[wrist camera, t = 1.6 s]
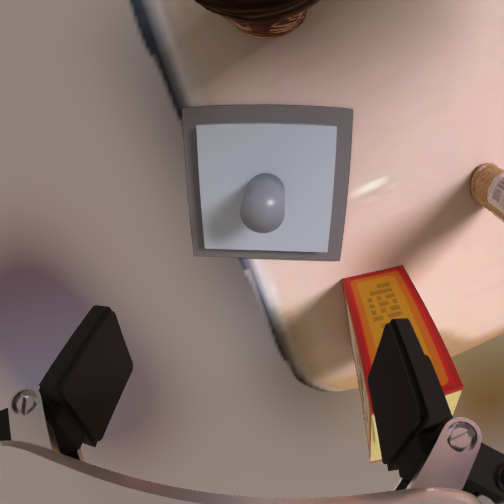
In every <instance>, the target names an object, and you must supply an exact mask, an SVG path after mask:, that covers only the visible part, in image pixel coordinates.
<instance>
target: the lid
mask: <svg viewBox="0 0 504 504" xmlns="http://www.w3.org/2000/svg"><path fill="white" fill-rule="evenodd" d="M196 132H197V151H198V168H199V183H200V197H201V210H202V222H203V234H204V245H205V249H234V250H266V251H298V252H328V243H329V233H330V223H331V212H332V201H333V188H334V174H335V158H336V139H337V126H335V125H322V124H303V123H212V124H199V125H196Z"/></svg>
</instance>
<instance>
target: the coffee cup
mask: <svg viewBox="0 0 504 504" xmlns="http://www.w3.org/2000/svg"><path fill="white" fill-rule="evenodd" d="M195 1H196V2H197V3H199V4H201V5H202V6H203V7H205V8H206V9H207V10H210V11H212V12H214V13H216V14H219V15H221V16H223V17H224V18H225V19H226V20H228V21H229V22H231V23H233V24H234V25H236V26H237V28H238V29H239V30H241V31H242V32H245V33H246V34H248V35H249V36H253V37H256V38H263V39H266V38H272V37H277V36H282V35H285V34H287V33H289V32H291V31H293V30H295V29H296V28H297V27H298V26H299V25H300V24H301V23H302V22H303V21H304V19H305V17H306V13H307V10H308V9H309V8H310V7H311V6H312V5H314V4H316V3H317V2H318V1H319V0H195Z"/></svg>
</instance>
